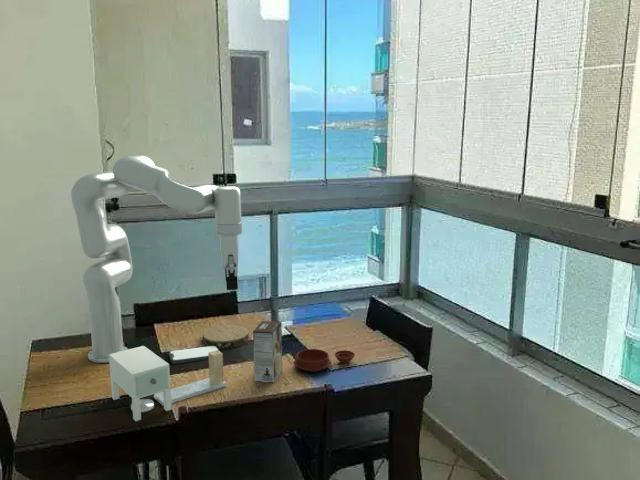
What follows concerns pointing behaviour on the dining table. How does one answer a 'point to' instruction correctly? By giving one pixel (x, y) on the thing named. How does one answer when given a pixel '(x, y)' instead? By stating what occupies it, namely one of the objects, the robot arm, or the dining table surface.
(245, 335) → the tan round flat disc
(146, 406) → the steel disc
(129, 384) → the low cabinet
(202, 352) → the phone case
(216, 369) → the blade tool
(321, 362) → the pottery
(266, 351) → the coffee box
